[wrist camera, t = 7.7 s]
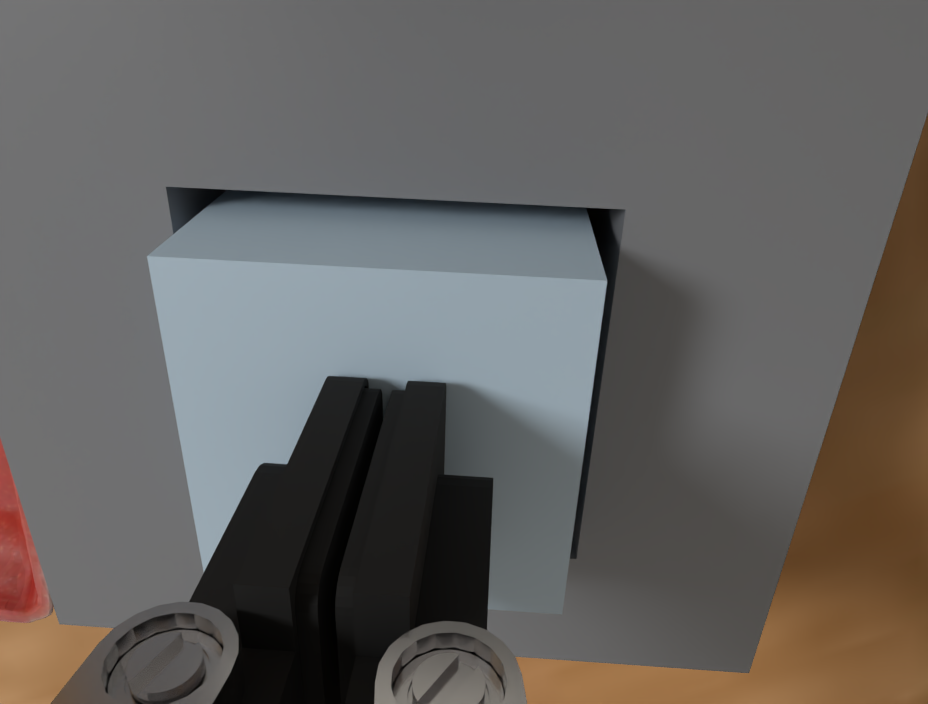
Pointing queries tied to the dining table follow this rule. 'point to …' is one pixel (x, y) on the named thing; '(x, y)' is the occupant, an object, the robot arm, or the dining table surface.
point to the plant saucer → (18, 558)
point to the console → (470, 180)
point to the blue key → (390, 348)
